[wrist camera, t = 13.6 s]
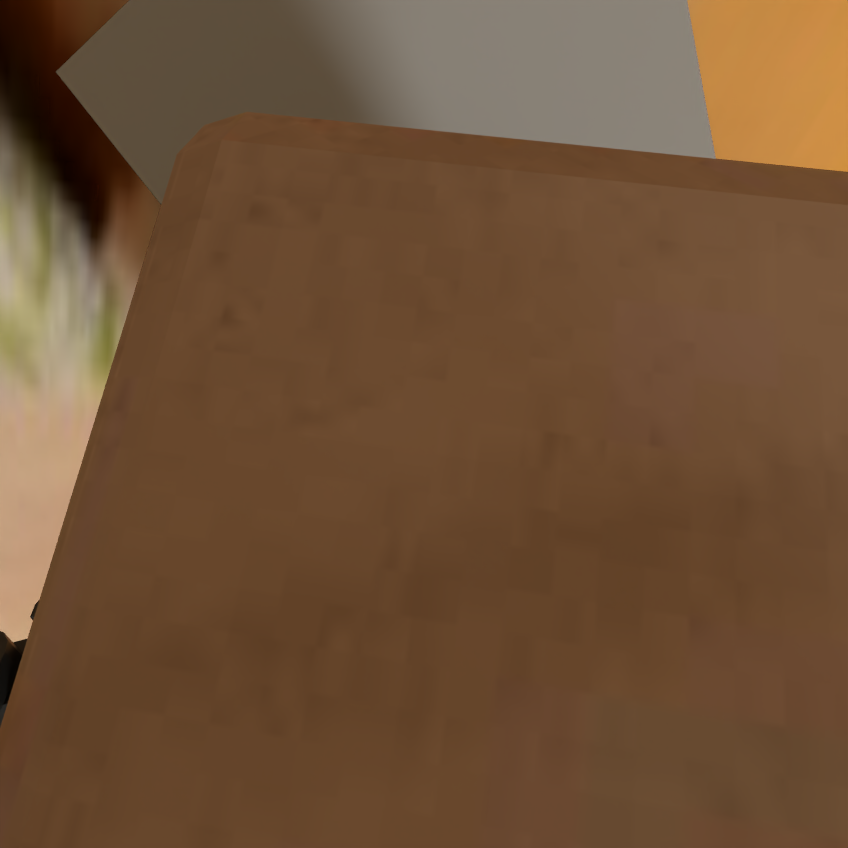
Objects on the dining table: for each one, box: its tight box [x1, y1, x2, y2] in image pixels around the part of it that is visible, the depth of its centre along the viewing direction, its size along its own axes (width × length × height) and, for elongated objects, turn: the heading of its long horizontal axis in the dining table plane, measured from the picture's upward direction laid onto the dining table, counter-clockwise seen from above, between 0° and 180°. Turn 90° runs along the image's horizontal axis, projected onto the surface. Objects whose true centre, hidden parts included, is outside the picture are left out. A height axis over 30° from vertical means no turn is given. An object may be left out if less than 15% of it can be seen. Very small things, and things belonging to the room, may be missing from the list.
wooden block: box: [0, 112, 848, 848], centre depth 14 cm, size 10×10×20 cm
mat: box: [56, 0, 716, 204], centre depth 21 cm, size 26×22×1 cm
